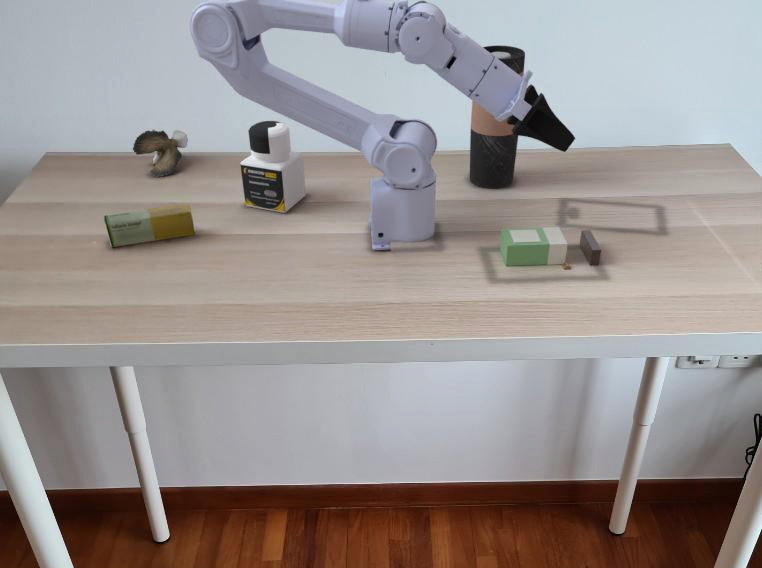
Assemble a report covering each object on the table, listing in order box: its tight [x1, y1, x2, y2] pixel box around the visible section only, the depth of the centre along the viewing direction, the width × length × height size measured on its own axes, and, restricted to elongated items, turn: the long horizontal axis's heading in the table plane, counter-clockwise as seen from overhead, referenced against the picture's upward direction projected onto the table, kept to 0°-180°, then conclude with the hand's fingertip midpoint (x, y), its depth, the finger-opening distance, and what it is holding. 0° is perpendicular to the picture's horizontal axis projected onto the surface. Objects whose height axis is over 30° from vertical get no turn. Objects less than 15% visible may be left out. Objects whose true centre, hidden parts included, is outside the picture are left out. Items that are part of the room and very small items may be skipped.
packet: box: [499, 226, 569, 267], centre depth 108 cm, size 8×5×3 cm, turn 93°
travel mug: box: [469, 45, 526, 189], centre depth 127 cm, size 8×8×20 cm
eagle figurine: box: [132, 129, 189, 178], centre depth 136 cm, size 8×7×9 cm
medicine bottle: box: [239, 120, 307, 214], centre depth 123 cm, size 7×7×12 cm
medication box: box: [103, 202, 197, 249], centre depth 115 cm, size 12×3×4 cm, turn 108°
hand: (565, 140), depth 104 cm, fingers open, 7 cm apart
